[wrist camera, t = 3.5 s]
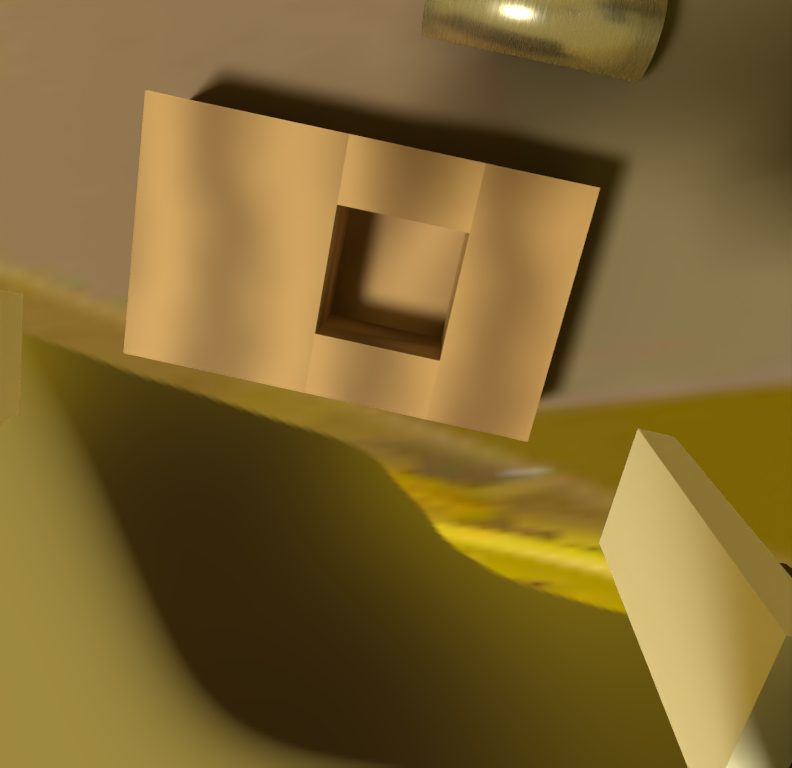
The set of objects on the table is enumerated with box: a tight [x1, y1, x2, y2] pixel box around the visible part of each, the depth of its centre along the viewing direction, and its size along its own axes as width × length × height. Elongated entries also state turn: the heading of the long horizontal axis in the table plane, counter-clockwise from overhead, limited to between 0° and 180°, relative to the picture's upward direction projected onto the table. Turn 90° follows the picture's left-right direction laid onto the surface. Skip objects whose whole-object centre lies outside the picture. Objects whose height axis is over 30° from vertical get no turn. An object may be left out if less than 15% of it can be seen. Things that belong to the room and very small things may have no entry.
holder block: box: [124, 90, 600, 442], centre depth 34 cm, size 20×12×5 cm, turn 78°
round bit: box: [422, 0, 668, 82], centre depth 31 cm, size 10×4×4 cm, turn 78°
